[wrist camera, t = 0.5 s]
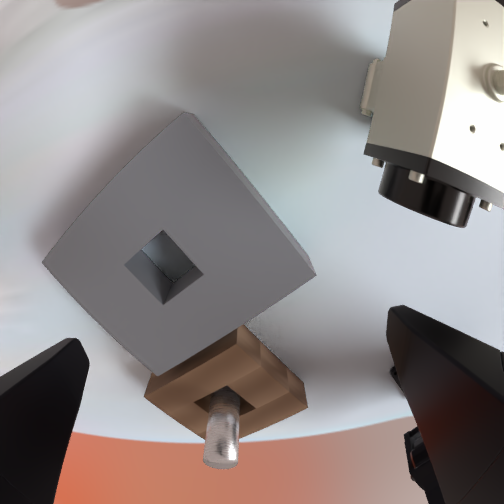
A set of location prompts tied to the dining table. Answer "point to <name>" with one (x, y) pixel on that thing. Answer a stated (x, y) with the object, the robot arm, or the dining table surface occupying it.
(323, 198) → the dining table surface
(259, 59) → the dining table surface
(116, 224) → the socket plate
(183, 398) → the walnut mount
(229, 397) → the steel pin
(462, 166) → the pneumatic valve
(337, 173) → the dining table surface
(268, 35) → the dining table surface
